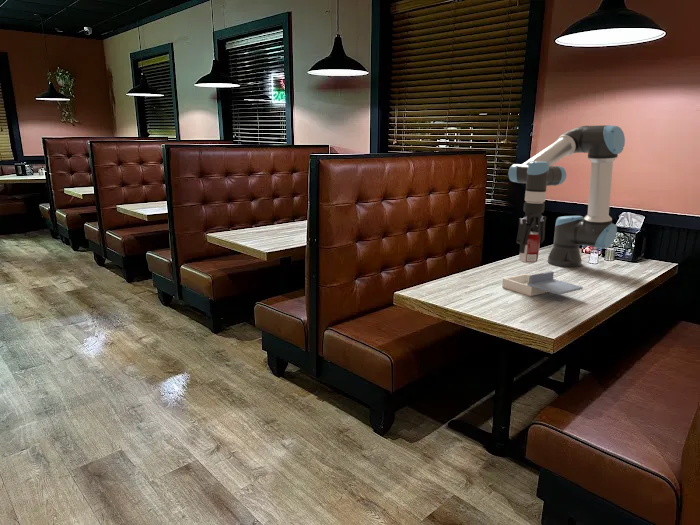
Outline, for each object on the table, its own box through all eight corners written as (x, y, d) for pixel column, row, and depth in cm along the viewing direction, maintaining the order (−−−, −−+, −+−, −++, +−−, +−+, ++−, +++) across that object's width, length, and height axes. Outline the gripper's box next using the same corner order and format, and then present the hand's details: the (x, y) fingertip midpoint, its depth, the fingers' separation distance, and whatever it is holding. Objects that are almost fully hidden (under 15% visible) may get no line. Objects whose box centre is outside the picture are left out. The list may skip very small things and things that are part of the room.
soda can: (538, 264, 195) (541, 234, 192) (520, 263, 197) (523, 233, 194) (535, 260, 202) (538, 231, 199) (518, 259, 203) (521, 230, 200)
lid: (550, 280, 200) (551, 270, 199) (582, 289, 188) (583, 279, 187) (527, 285, 192) (528, 275, 191) (558, 294, 181) (560, 284, 180)
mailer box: (525, 282, 210) (526, 273, 210) (553, 290, 199) (554, 282, 198) (502, 286, 203) (503, 278, 202) (530, 296, 192) (531, 287, 191)
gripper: (542, 199, 201) (536, 255, 207) (509, 202, 191) (504, 260, 197) (558, 201, 195) (552, 258, 201) (525, 204, 185) (519, 264, 191)
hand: (528, 259), depth 199 cm, fingers closed on soda can, 6 cm apart
